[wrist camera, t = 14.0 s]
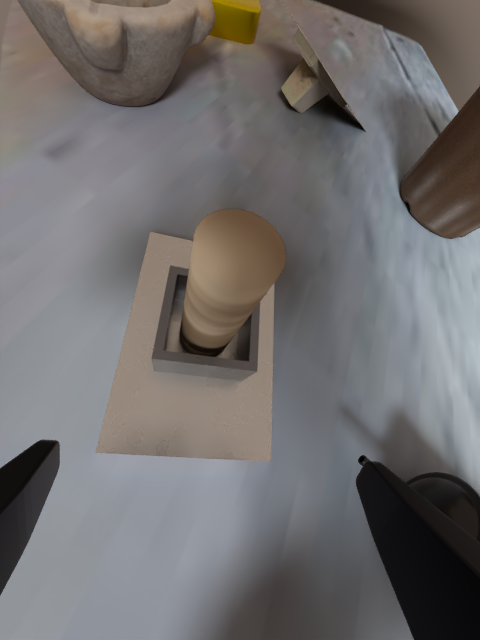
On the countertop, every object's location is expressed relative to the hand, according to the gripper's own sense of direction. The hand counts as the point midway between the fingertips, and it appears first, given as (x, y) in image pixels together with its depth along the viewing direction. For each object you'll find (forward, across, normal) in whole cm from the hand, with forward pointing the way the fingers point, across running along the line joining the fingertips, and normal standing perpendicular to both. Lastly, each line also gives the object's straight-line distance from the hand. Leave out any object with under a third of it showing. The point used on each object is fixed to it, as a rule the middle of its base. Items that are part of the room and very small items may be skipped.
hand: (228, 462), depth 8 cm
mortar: (+37, +14, -18) cm, 44 cm away
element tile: (+55, +7, -35) cm, 66 cm away
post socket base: (+15, 0, +4) cm, 16 cm away
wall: (+44, -11, -24) cm, 51 cm away
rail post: (+14, 0, +3) cm, 15 cm away
